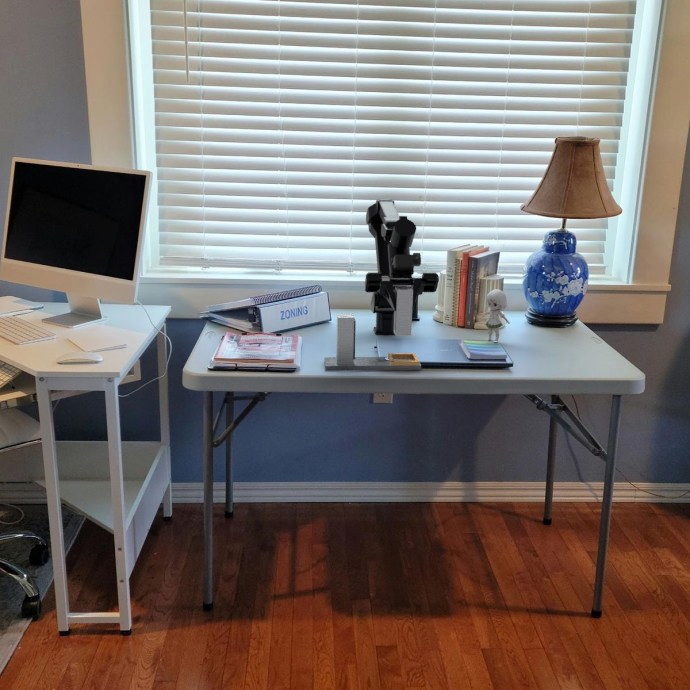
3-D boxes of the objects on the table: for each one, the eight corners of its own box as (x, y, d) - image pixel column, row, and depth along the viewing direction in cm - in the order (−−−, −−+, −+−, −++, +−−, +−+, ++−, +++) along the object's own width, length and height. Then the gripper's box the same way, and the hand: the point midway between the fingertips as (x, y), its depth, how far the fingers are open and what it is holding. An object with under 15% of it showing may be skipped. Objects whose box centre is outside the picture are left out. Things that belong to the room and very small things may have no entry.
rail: (324, 361, 200) (324, 312, 197) (416, 361, 202) (418, 312, 198) (325, 370, 193) (325, 319, 190) (420, 370, 195) (423, 319, 191)
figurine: (472, 338, 223) (476, 287, 219) (486, 335, 227) (490, 284, 222) (501, 347, 215) (505, 294, 211) (515, 343, 219) (519, 291, 215)
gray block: (393, 331, 202) (394, 286, 198) (408, 331, 202) (410, 286, 199) (395, 335, 198) (396, 289, 195) (411, 335, 198) (413, 289, 195)
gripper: (366, 241, 197) (369, 293, 189) (439, 241, 198) (445, 293, 190) (363, 266, 206) (366, 316, 199) (432, 266, 208) (438, 316, 200)
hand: (403, 310), depth 197 cm, fingers closed on gray block, 4 cm apart
